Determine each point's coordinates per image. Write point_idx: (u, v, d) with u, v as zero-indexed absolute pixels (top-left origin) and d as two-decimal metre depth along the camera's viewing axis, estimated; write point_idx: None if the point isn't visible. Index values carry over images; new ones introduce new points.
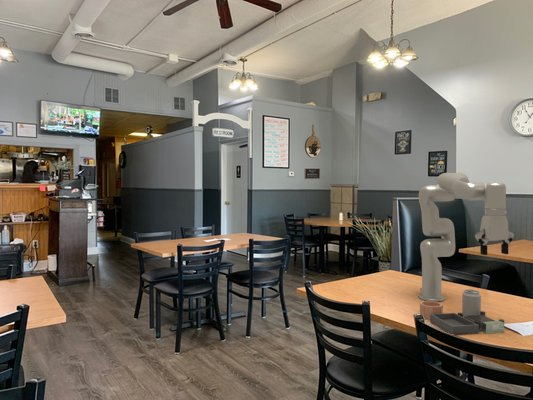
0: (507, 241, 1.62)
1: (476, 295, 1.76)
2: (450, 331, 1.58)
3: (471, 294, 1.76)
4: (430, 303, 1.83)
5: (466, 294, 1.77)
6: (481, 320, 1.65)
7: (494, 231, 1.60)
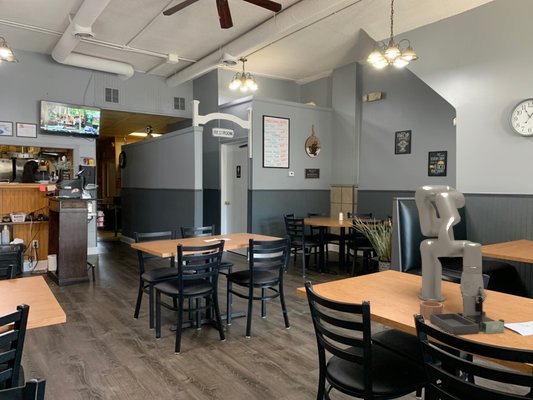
0: None
1: (477, 295, 1.75)
2: (450, 331, 1.58)
3: None
4: (430, 303, 1.83)
5: (467, 294, 1.77)
6: (481, 320, 1.65)
7: None
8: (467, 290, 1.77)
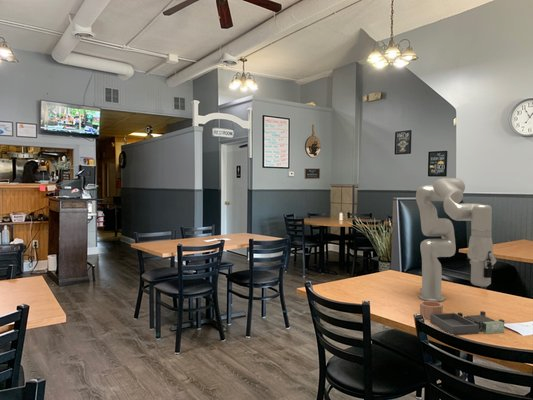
0: None
1: None
2: (450, 331, 1.58)
3: None
4: (430, 303, 1.83)
5: (475, 260, 1.65)
6: (481, 320, 1.65)
7: None
8: (475, 255, 1.66)
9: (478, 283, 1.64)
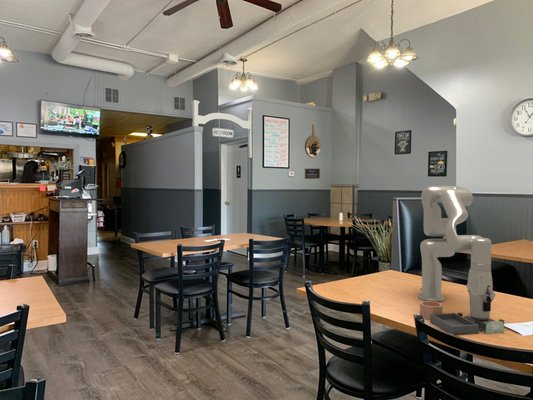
0: None
1: None
2: (450, 331, 1.58)
3: None
4: (430, 303, 1.83)
5: (474, 293, 1.66)
6: (481, 320, 1.65)
7: None
8: (475, 288, 1.66)
9: (477, 316, 1.65)
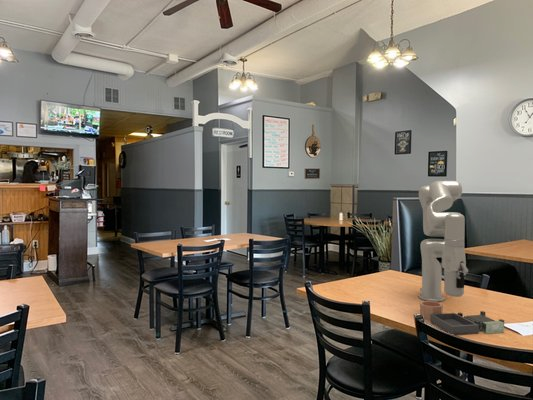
0: None
1: None
2: (450, 331, 1.58)
3: None
4: (430, 303, 1.83)
5: (448, 270, 1.63)
6: (481, 320, 1.65)
7: None
8: (448, 265, 1.64)
9: (451, 293, 1.62)
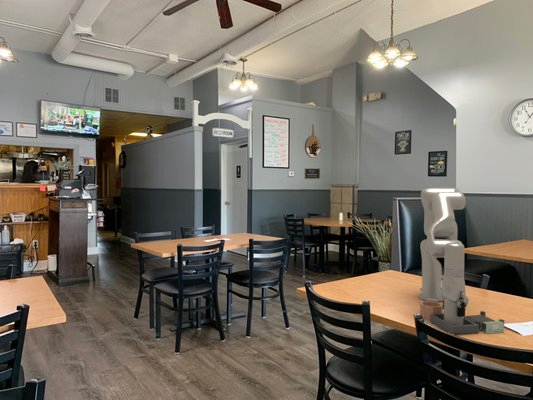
0: None
1: None
2: (450, 331, 1.58)
3: None
4: (430, 303, 1.83)
5: (447, 300, 1.64)
6: (481, 320, 1.65)
7: None
8: (448, 294, 1.64)
9: None
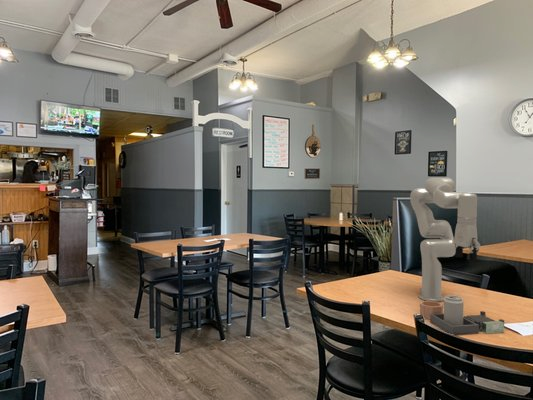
0: None
1: (458, 302, 1.62)
2: (450, 331, 1.58)
3: (453, 300, 1.63)
4: (430, 303, 1.83)
5: (447, 300, 1.64)
6: (481, 320, 1.65)
7: None
8: (461, 241, 1.74)
9: None
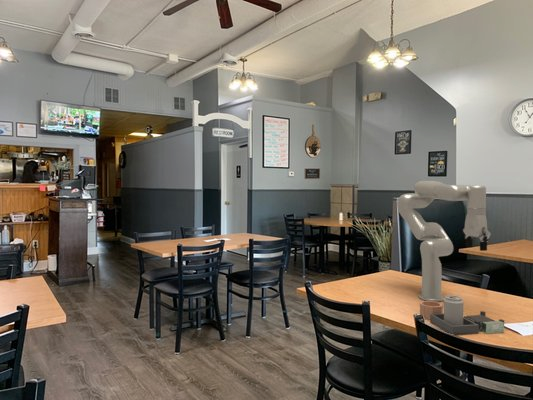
0: None
1: (458, 302, 1.62)
2: (450, 331, 1.58)
3: (453, 300, 1.63)
4: (430, 303, 1.83)
5: (447, 300, 1.64)
6: (481, 320, 1.65)
7: None
8: (471, 231, 1.82)
9: None
